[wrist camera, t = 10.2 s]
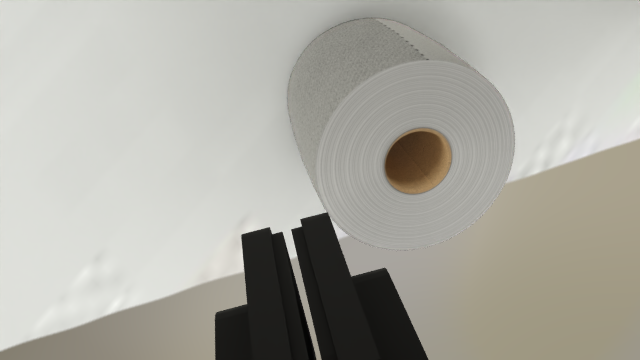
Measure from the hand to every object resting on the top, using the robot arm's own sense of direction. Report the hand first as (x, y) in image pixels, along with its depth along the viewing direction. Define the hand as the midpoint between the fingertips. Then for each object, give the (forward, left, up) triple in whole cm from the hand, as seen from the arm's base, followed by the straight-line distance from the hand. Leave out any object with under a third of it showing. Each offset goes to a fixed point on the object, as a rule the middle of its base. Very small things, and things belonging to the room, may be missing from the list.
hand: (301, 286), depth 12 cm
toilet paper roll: (-8, +9, -32) cm, 34 cm away
